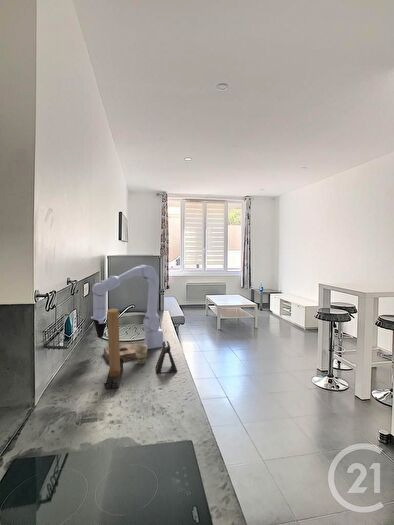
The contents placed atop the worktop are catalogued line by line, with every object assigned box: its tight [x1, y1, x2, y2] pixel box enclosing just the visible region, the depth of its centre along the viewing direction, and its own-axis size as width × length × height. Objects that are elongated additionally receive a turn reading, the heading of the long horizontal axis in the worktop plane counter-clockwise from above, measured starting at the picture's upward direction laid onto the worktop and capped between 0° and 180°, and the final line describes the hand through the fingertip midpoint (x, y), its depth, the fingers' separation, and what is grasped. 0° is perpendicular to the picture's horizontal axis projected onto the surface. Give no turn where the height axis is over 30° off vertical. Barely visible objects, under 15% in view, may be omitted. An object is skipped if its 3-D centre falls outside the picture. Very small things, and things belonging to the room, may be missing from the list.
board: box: [103, 342, 137, 362], centre depth 148 cm, size 16×14×3 cm
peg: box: [135, 343, 148, 365], centre depth 139 cm, size 5×5×8 cm
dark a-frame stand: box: [155, 340, 178, 375], centre depth 130 cm, size 9×6×12 cm, turn 100°
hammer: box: [103, 308, 125, 389], centre depth 117 cm, size 20×5×30 cm, turn 7°
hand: (99, 334), depth 148 cm, fingers open, 7 cm apart
